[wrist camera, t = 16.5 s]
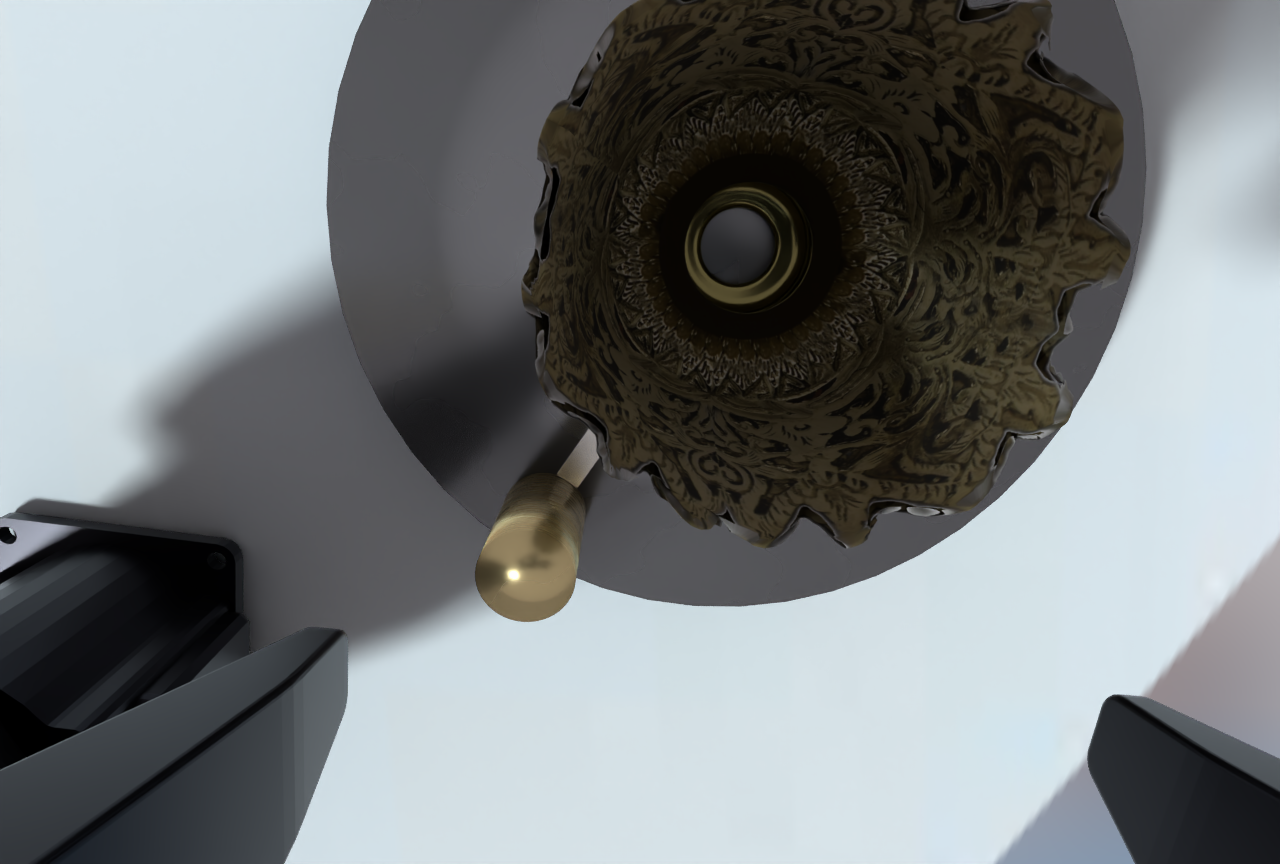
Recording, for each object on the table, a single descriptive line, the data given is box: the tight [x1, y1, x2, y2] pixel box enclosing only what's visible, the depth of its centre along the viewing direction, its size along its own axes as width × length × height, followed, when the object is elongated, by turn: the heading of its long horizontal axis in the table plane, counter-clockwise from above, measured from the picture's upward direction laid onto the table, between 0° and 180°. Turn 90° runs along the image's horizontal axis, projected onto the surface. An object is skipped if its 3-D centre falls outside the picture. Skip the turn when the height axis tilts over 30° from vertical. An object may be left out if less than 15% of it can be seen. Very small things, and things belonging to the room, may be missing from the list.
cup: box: [521, 0, 1131, 549], centre depth 13 cm, size 8×7×8 cm
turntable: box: [327, 0, 1146, 622], centre depth 15 cm, size 18×18×4 cm
